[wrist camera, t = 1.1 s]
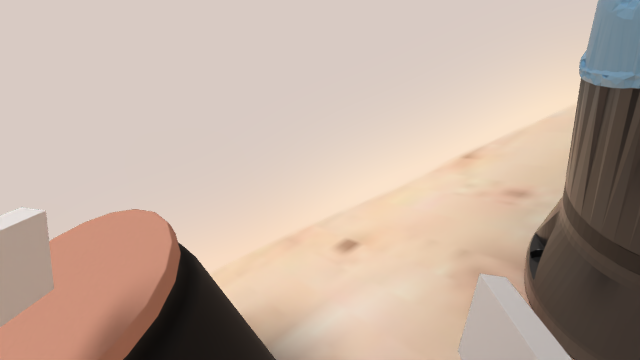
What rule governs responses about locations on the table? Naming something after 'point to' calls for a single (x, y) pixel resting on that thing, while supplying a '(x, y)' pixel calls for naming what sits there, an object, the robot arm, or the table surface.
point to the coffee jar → (129, 300)
